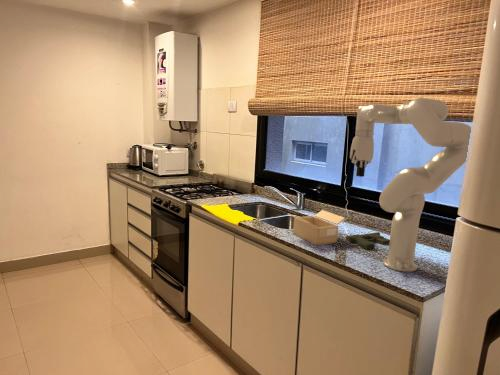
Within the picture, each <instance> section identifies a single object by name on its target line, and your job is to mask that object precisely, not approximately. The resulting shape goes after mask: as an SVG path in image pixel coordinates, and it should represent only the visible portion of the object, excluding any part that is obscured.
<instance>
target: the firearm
mask: <svg viewBox="0 0 500 375" xmlns="http://www.w3.org/2000/svg"><path fill="white" fill-rule="evenodd" d="M345 240H346V241H347V243H350V244H357V245H358V246H360V247H361V249H362V248H363V249H364V250H367V251H368V250H374V249H375V248H376V245H375V243H377V244H380V245H382V246H386V245H389V242H390V238H386V237H384V236H383V235H381V233H380V232H379V231H377V232H371V233H370V232H368V233H363V234H359V233H358V234H351V235H346V238H345Z"/></svg>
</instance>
